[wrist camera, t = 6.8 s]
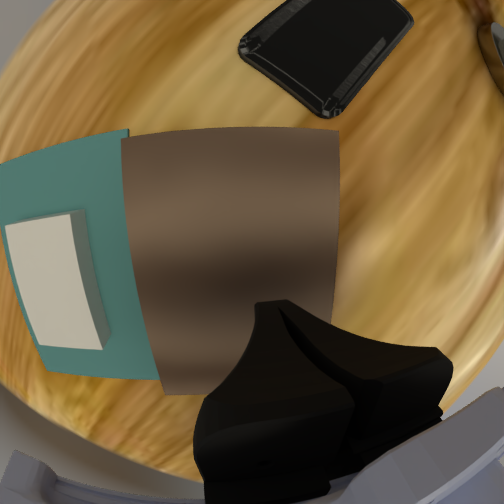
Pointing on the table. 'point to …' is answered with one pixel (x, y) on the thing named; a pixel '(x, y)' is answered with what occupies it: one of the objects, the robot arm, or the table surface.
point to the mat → (100, 239)
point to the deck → (227, 238)
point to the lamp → (493, 50)
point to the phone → (325, 48)
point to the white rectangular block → (58, 280)
